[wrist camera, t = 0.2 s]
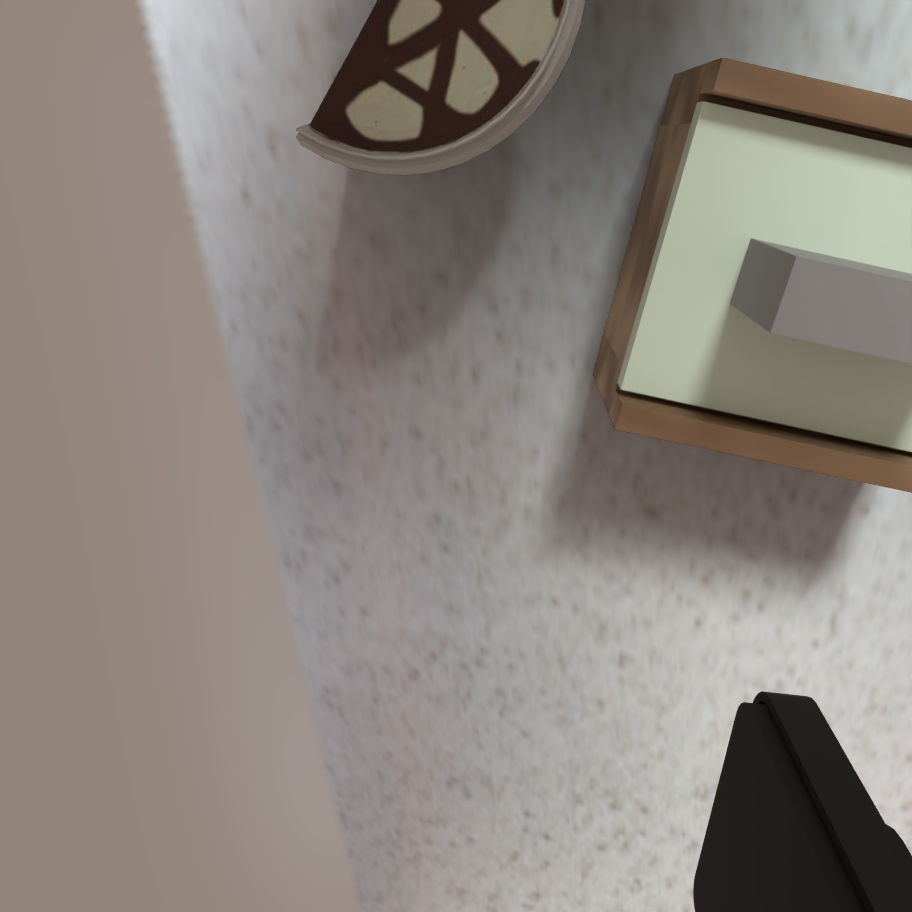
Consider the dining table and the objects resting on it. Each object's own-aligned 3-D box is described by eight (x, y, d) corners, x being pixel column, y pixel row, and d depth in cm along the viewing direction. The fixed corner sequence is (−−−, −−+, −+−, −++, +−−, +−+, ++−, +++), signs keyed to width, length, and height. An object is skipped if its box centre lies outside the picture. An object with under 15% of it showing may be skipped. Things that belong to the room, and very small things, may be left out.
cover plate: (697, 102, 30) (742, 94, 25) (1078, 188, 31) (1209, 199, 25) (617, 382, 34) (641, 431, 28) (959, 456, 34) (1050, 518, 29)
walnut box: (674, 74, 35) (722, 57, 28) (1001, 148, 36) (1135, 151, 28) (592, 374, 40) (614, 429, 32) (883, 436, 40) (971, 505, 33)
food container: (460, 225, 38) (448, 253, 28) (340, 143, 37) (287, 145, 28) (631, -44, 34) (682, -113, 25) (502, -143, 33) (504, -254, 24)
